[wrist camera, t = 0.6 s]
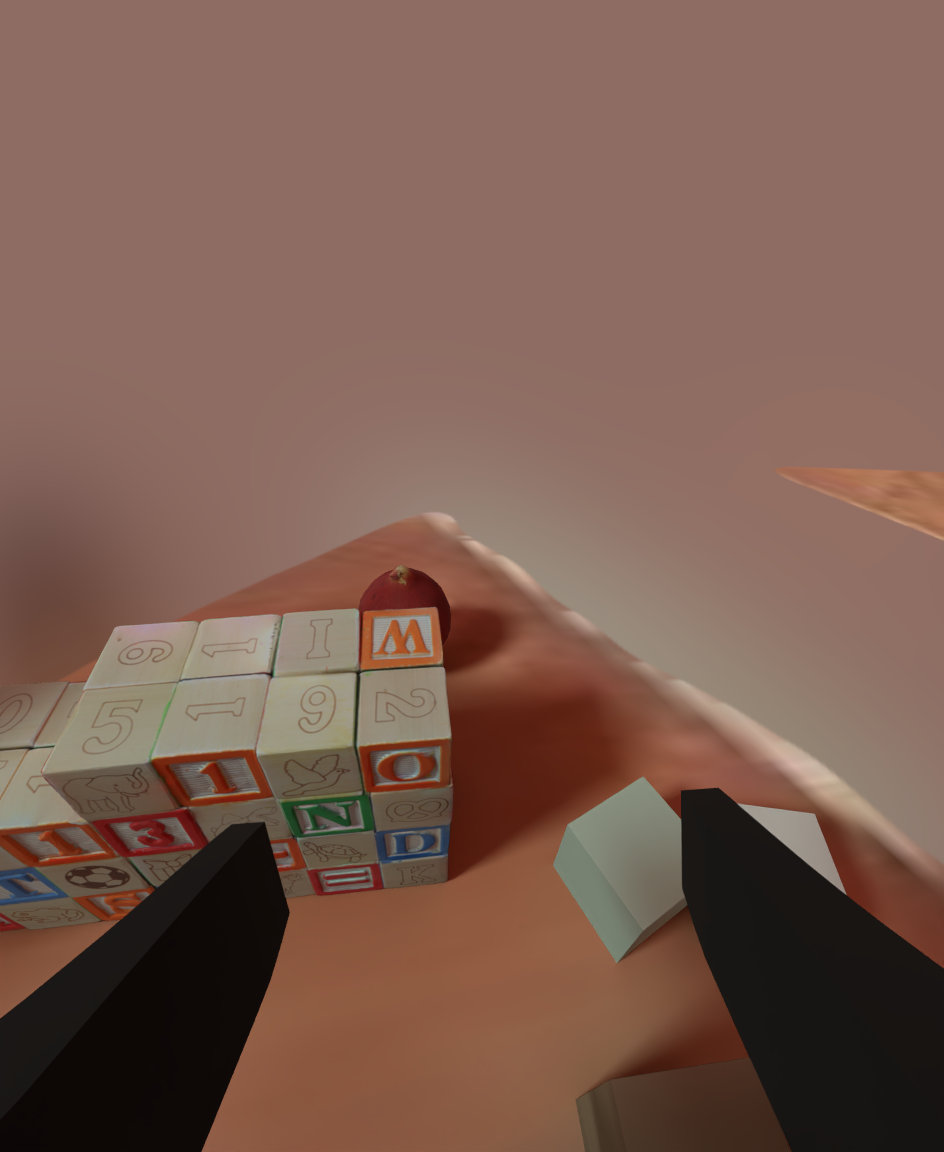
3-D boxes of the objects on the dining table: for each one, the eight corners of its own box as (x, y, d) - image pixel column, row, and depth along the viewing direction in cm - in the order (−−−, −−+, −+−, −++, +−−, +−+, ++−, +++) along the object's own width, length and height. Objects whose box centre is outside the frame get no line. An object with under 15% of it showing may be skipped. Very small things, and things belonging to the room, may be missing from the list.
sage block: (688, 904, 24) (722, 866, 21) (616, 963, 22) (643, 930, 19) (621, 820, 27) (643, 776, 24) (552, 866, 25) (567, 824, 22)
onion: (370, 625, 37) (358, 534, 32) (450, 626, 37) (452, 536, 32) (357, 691, 32) (341, 598, 27) (449, 692, 33) (450, 600, 27)
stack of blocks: (-54, 945, 22) (-343, 809, 14) (25, 800, 26) (-156, 636, 18) (451, 882, 24) (455, 736, 16) (440, 760, 29) (439, 600, 21)
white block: (806, 963, 22) (860, 931, 20) (701, 947, 23) (739, 913, 20) (772, 854, 26) (814, 813, 23) (681, 842, 26) (711, 800, 23)
